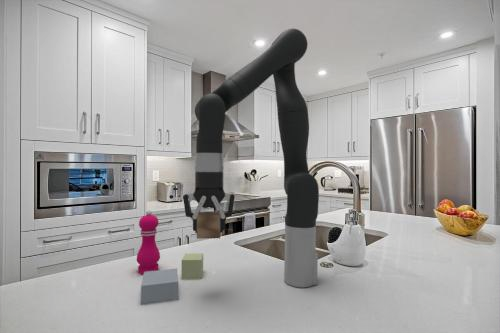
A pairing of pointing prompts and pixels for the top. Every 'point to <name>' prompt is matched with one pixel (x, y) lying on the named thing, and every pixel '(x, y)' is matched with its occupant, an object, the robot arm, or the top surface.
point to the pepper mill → (148, 244)
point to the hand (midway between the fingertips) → (209, 232)
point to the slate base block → (159, 286)
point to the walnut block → (208, 224)
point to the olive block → (192, 266)
